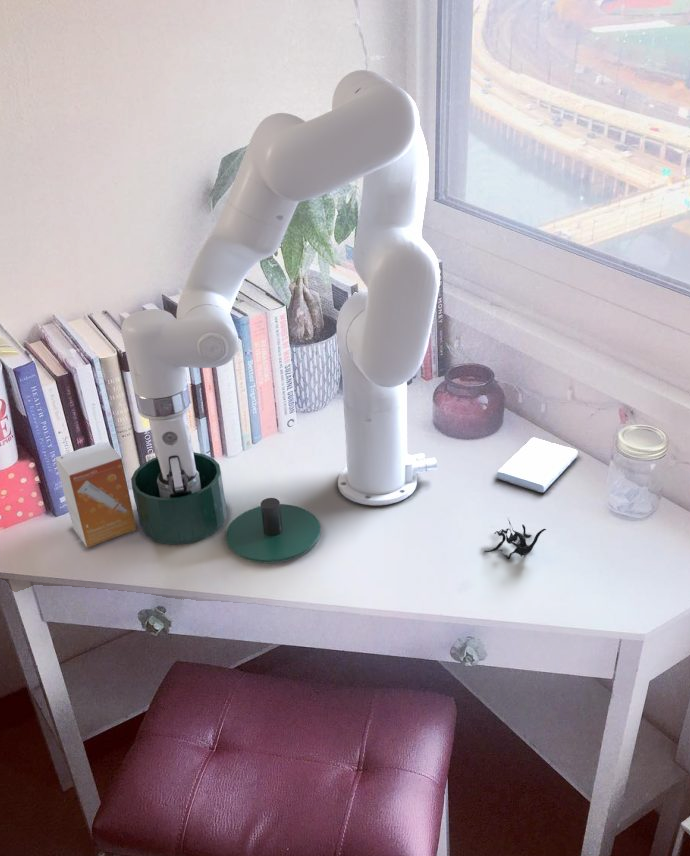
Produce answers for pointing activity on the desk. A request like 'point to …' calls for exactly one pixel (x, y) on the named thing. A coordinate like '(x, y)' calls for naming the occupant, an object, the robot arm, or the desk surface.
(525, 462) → the hard drive
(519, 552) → the creature
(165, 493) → the camera lens
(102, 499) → the small box
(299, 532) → the lid
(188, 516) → the pot
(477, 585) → the desk surface
